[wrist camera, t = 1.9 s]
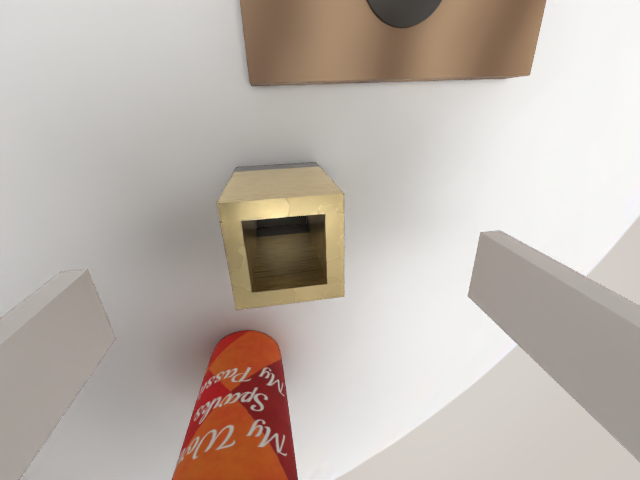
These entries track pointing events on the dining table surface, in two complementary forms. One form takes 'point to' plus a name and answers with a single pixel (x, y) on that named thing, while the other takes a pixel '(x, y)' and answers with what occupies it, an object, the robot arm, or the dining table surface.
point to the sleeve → (283, 235)
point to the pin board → (388, 40)
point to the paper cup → (240, 416)
